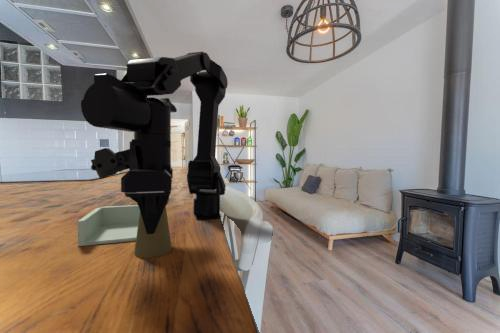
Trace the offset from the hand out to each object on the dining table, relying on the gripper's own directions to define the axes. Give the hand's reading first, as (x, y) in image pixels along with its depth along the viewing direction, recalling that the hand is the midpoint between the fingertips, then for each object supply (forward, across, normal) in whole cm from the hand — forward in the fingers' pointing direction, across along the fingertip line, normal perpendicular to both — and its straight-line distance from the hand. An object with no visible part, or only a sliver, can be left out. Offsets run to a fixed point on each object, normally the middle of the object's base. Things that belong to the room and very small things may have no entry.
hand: (153, 224), depth 38 cm
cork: (+5, 0, 0) cm, 5 cm away
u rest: (+5, -11, -8) cm, 14 cm away
